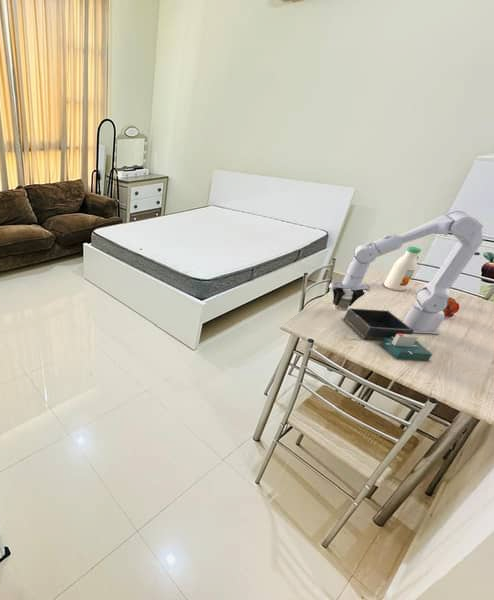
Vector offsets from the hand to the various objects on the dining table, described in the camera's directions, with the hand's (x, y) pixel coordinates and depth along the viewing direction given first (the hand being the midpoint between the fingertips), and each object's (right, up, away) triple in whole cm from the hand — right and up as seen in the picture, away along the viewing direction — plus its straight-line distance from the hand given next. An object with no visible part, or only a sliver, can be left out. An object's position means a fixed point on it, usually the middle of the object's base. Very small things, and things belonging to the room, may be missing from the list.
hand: (341, 304), depth 132 cm
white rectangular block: (+3, -14, -23) cm, 27 cm away
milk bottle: (+42, +8, +21) cm, 48 cm away
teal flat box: (+5, -16, -21) cm, 27 cm away
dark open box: (+4, -10, -10) cm, 15 cm away
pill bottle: (0, -2, +1) cm, 2 cm away
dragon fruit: (+41, -4, +1) cm, 41 cm away
